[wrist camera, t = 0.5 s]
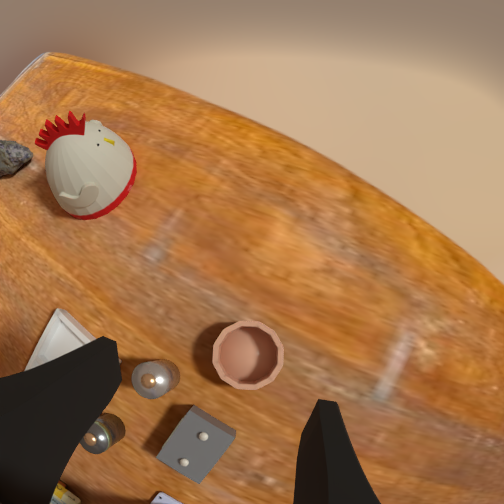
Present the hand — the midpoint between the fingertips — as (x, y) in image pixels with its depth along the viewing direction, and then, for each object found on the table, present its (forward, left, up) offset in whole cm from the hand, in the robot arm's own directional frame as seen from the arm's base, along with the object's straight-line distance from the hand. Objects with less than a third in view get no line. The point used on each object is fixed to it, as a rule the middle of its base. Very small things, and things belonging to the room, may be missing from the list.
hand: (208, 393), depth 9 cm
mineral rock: (+1, +54, -26) cm, 60 cm away
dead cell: (-7, +6, -26) cm, 28 cm away
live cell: (-18, +8, -26) cm, 33 cm away
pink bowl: (+1, -1, -26) cm, 26 cm away
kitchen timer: (+9, +32, -26) cm, 42 cm away
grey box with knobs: (-12, -2, -26) cm, 29 cm away
